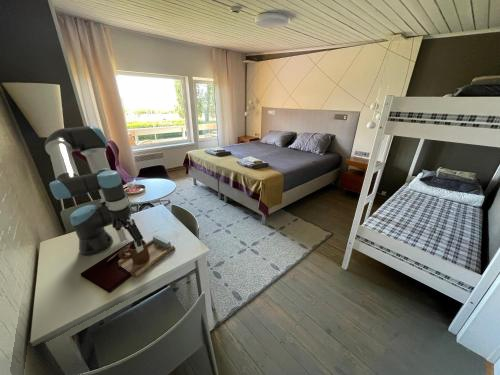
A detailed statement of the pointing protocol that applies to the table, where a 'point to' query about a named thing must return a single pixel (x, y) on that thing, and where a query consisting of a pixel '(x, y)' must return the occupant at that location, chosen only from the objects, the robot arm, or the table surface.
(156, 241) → the bar
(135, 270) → the housing base
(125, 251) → the mug
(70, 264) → the table surface
